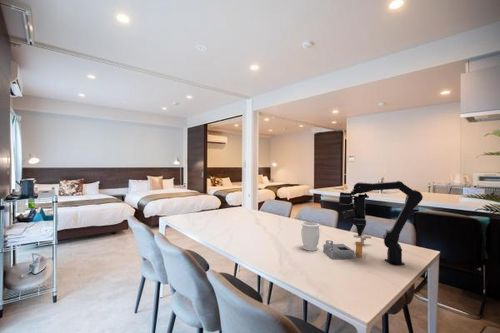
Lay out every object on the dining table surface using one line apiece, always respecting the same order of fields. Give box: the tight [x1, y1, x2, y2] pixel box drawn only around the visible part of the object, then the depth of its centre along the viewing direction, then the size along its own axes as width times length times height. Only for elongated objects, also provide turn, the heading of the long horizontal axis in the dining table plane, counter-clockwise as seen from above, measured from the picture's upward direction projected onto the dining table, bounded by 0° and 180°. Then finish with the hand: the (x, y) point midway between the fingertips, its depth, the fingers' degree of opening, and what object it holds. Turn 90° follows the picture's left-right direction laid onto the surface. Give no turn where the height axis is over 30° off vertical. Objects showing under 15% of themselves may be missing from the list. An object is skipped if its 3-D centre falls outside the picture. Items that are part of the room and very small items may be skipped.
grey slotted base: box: [323, 239, 355, 260], centre depth 133 cm, size 12×12×6 cm
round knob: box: [355, 241, 364, 259], centre depth 130 cm, size 4×4×8 cm
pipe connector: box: [353, 229, 372, 246], centre depth 152 cm, size 10×10×10 cm
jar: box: [301, 221, 321, 252], centre depth 143 cm, size 11×10×15 cm
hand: (359, 234), depth 131 cm, fingers open, 9 cm apart
